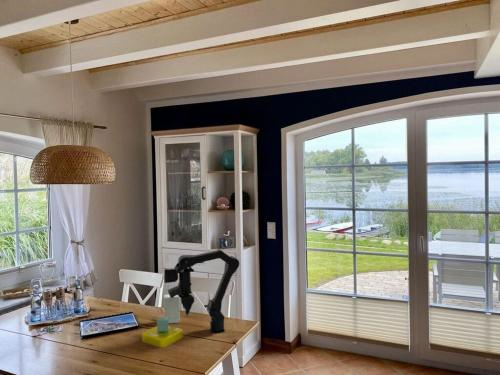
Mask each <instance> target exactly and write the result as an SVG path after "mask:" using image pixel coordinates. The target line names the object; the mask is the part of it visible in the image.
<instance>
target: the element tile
mask: <svg viewBox="0 0 500 375" xmlns="http://www.w3.org/2000/svg"><path fill="white" fill-rule="evenodd" d="M182 338H183V329H182V328H180V327H176V326H173V325H170V324H169V331H162V332H158V329H157V325H156V326H154V327H151V328H150V329H147V330H145V331H143V332H142V333H141V342H143V343H146V344H147V345H151V346H154V347H156V348H157V347H158V348H165V347H167V346H170V345H171V344H173V343H175V342H176V341H179V340H182Z"/></svg>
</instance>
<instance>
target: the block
mask: <svg viewBox="0 0 500 375" xmlns="http://www.w3.org/2000/svg"><path fill="white" fill-rule="evenodd" d="M169 325H170V324H169V320H168V318H167V317H165V316H163V317H158V318H156V326H157V329H158V332H162V331H169Z"/></svg>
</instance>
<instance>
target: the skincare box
mask: <svg viewBox="0 0 500 375" xmlns="http://www.w3.org/2000/svg"><path fill="white" fill-rule="evenodd" d="M163 304H164V317H167V318H168V320H169V325H170V324H176V323H178V324H179V323H181V318H180V317H181V316H180V314H181V313H180V297H179V296H178V295H176V296H174V297H173V298H170V295H169V293H168V294H164V295H163Z"/></svg>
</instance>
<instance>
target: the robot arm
mask: <svg viewBox="0 0 500 375" xmlns="http://www.w3.org/2000/svg"><path fill="white" fill-rule="evenodd" d="M218 259H220V260H221V261H223V262H224V270H223V274H222V277H221V279H220V282H219V285H218V287H217V289H216V292H215V294H214V296H213V298H212V299H211V298H209V299H208V303H207V305H206V312H207V313H208V315H209V317H211V318H210V321H209V330H210V331H211V332H212V334H216V333H225V332H226V330H225V315H224V313H223V312H222V306H223V305H222V304H223V299H224V297H225V294H226V292H227V289H228V287H229V284H230V281H231V280H232V277H233V275H235V273H236V272H237V270H238V269H239V267H240V260H239V259H238V258H236V257H235V256H233V255H229V254H227V253H225V252H224V251H223V250H222V249H217V250H214V251H208V252H202V253H199V254H182V255H180V256H179V257H178V259H177V263H176V265H175V266H174V267H173V268H164V269H163V271H164V272H163V281H164V282H163V283H164V284H168V283H169V284H170V283H176V282H177V281H178V280H179V281H178V284H177V285H176V286H174V287H171V288H169V289H168V290H167V292H168V294H169V295H170V298H173V297H174V296H176V295H178V296H179V299H180V304H181V305H182V308H183V309H184V311H185V315H186V316H187V315H188V316H189V313H190V312H191V309H192V307H193V305H194V303H195V297H194V295H193V292H192V280H191V275H192V274H191V273H194V272H195V269H194V268H193V267H194V266H195V265H197V264H200V263H203V262H204V263H205V262H209V261H213V260H218Z"/></svg>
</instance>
